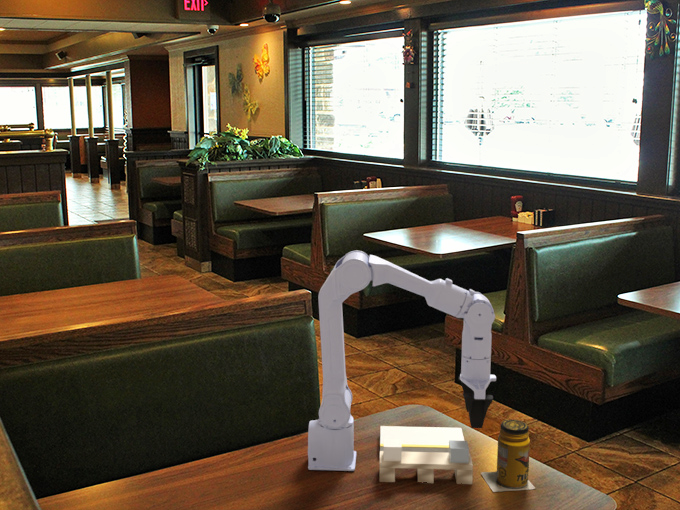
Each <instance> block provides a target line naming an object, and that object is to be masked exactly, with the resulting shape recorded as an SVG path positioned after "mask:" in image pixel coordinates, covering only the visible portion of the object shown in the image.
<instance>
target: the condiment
mask: <svg viewBox="0 0 680 510" xmlns="http://www.w3.org/2000/svg"><path fill="white" fill-rule="evenodd" d="M529 430H530V428H529V426H528V424H527V423H526V422H525V421H523V420H518V419H505V420H503V421H502V422H501V423H500V429H499V434H498V437H497V455H496V457H497V458H496V471H483V472H480V475H481V476H482V477H483V479H484V481H485V482H486V484H487V486H488V487H489V488H490V490H492V492H493V493H499V492H508V491H511V492H513V491H516V492H517V491H527V490H535V489H536V487H535V486H534V485H533V483H532V482H531V481H530V480H529V471H530V469H529V468H530V467H529V466H530V450H531V449H530V448H531V447H530V446H531V440H530V437H529Z"/></svg>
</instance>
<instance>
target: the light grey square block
mask: <svg viewBox="0 0 680 510" xmlns="http://www.w3.org/2000/svg"><path fill="white" fill-rule="evenodd" d="M469 453H470V447H469V444H468V441H467V440H464V441H454V440H449V458H450V463H469Z"/></svg>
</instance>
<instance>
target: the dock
mask: <svg viewBox="0 0 680 510" xmlns="http://www.w3.org/2000/svg"><path fill="white" fill-rule="evenodd" d="M379 431H380V434H379V452H380V451H384V439H401V446H402V452H443V453H449V440H454V441H465V437H464V434H463V433H464V432H463V429H462V427H449V426H448V427H447V426H445V427H444V426H442V427H441V426H440V427H438V426H436V427H435V426H403V425H402V426H401V425H400V426H399V425H396V426H395V425H380V430H379Z"/></svg>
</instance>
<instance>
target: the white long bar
mask: <svg viewBox="0 0 680 510" xmlns="http://www.w3.org/2000/svg"><path fill="white" fill-rule="evenodd" d="M383 460H384V451H380V450H379V482H381V483H395V482H396V469H416V474H417V483H418V482H422V483H421V484H424V483H423V482H427V483H426V484H434V481H435V479H434V475H435V473H434V472H435V470H454V471H453V472H454V477H455V482H456V484H457V485H473V479H474V478H473V475H474V473H473V472H474V463H473V459H472V456H471V453H470V452H469V463H450V458H449V453H443V452H402V454H401V462H399V461H383ZM461 483H462V484H461Z"/></svg>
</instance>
